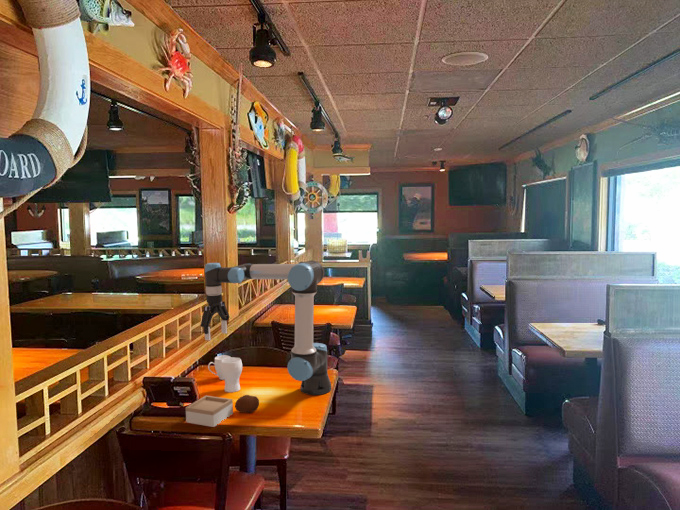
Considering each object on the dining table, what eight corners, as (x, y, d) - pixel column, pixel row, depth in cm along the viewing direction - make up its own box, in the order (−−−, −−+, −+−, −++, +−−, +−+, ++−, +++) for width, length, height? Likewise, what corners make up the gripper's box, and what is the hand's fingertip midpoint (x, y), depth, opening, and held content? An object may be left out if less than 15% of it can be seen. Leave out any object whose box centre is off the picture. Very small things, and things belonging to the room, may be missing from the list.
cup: (238, 394, 243) (236, 364, 241) (217, 392, 245) (216, 363, 243) (246, 386, 253) (245, 357, 251) (227, 385, 255) (225, 356, 254)
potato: (262, 412, 220) (261, 396, 220) (238, 418, 215) (238, 401, 214) (255, 406, 228) (255, 390, 227) (233, 411, 222) (232, 394, 222)
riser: (233, 413, 219) (232, 399, 219) (213, 427, 207) (213, 411, 206) (206, 409, 225) (205, 395, 224) (186, 422, 212) (185, 407, 211)
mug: (228, 374, 271) (227, 354, 270) (233, 379, 264) (232, 358, 263) (206, 379, 265) (205, 358, 264) (211, 383, 258) (210, 362, 257)
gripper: (222, 289, 258) (224, 330, 260) (191, 298, 235) (193, 342, 237) (235, 290, 255) (237, 331, 257) (204, 299, 232) (206, 343, 234)
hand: (216, 336), depth 247 cm, fingers open, 13 cm apart
